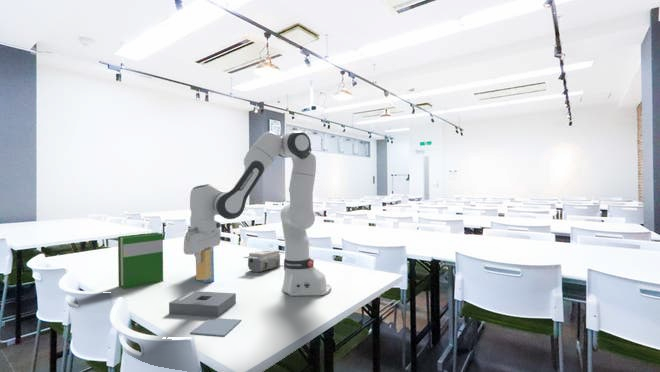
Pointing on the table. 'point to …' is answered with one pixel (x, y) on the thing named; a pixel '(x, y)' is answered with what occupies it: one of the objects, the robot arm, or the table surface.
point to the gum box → (211, 268)
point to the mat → (216, 327)
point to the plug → (204, 265)
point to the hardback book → (140, 259)
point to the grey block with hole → (202, 303)
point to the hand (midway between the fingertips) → (203, 261)
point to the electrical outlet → (263, 260)
